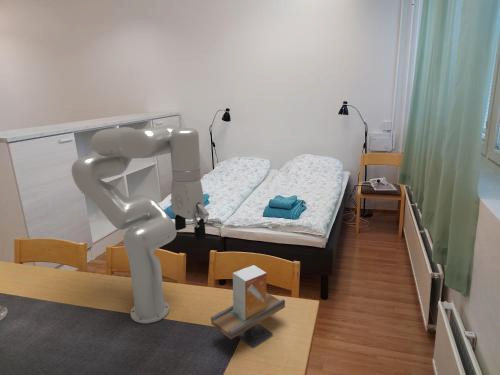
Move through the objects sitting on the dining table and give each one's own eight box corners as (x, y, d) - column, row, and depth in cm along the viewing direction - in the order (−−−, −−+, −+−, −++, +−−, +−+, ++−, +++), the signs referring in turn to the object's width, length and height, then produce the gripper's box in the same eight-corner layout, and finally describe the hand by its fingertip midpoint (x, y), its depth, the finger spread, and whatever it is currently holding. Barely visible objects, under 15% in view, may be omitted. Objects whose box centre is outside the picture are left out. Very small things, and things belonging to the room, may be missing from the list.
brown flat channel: (211, 324, 106) (211, 316, 106) (264, 295, 121) (264, 288, 120) (230, 339, 100) (230, 331, 99) (284, 307, 114) (285, 300, 114)
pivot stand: (227, 328, 114) (226, 313, 112) (246, 317, 119) (246, 303, 117) (253, 348, 105) (253, 332, 104) (272, 335, 110) (272, 320, 109)
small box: (245, 321, 105) (245, 281, 101) (232, 311, 110) (231, 272, 106) (266, 311, 110) (267, 272, 106) (253, 301, 114) (253, 264, 111)
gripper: (158, 172, 101) (162, 229, 106) (193, 183, 89) (196, 247, 94) (181, 167, 106) (184, 222, 111) (217, 178, 94) (219, 239, 98)
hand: (190, 234), depth 102 cm, fingers open, 9 cm apart
